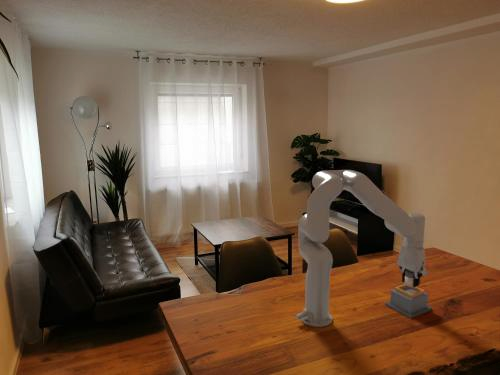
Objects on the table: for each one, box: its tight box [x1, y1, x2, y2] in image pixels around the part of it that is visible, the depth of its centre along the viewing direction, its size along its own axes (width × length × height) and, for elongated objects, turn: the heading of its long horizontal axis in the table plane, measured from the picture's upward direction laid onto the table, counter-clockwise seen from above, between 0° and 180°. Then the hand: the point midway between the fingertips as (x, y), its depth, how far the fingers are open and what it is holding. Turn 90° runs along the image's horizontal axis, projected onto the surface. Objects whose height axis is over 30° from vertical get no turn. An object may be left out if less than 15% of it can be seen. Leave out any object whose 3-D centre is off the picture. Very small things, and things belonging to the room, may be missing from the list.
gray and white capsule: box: [403, 269, 415, 287], centre depth 165 cm, size 5×5×6 cm
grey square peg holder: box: [384, 284, 433, 319], centre depth 167 cm, size 14×13×8 cm
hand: (410, 283), depth 166 cm, fingers closed on gray and white capsule, 4 cm apart
